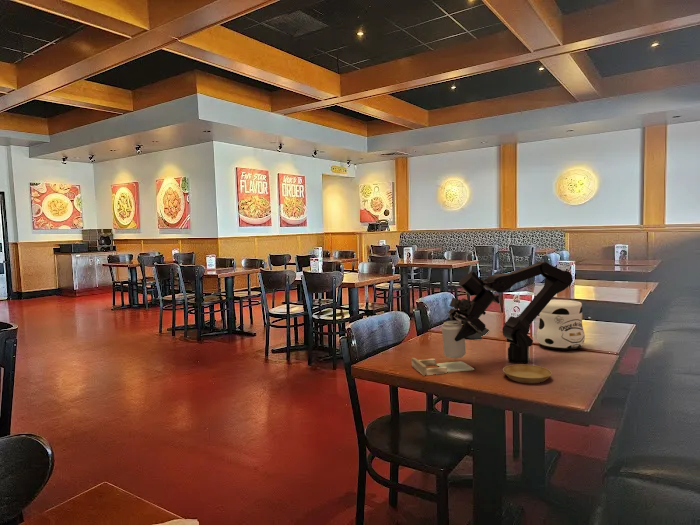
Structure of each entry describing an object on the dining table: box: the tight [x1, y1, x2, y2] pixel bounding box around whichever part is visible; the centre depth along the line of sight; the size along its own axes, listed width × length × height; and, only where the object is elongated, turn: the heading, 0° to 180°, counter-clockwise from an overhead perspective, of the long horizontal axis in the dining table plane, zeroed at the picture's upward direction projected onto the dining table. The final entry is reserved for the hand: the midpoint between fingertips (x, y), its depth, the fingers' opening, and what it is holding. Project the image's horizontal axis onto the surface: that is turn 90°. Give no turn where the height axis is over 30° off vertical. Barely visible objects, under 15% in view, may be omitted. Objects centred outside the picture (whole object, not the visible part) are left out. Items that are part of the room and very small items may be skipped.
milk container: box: [536, 299, 586, 351], centre depth 192 cm, size 17×17×18 cm
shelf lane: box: [411, 357, 448, 377], centre depth 168 cm, size 8×12×3 cm
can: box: [441, 320, 467, 359], centre depth 169 cm, size 8×8×12 cm
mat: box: [435, 360, 475, 373], centre depth 170 cm, size 10×10×1 cm
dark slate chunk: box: [465, 327, 490, 340], centre depth 221 cm, size 15×22×5 cm
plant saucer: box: [502, 363, 553, 384], centre depth 156 cm, size 15×15×3 cm
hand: (450, 338), depth 169 cm, fingers closed on can, 7 cm apart
